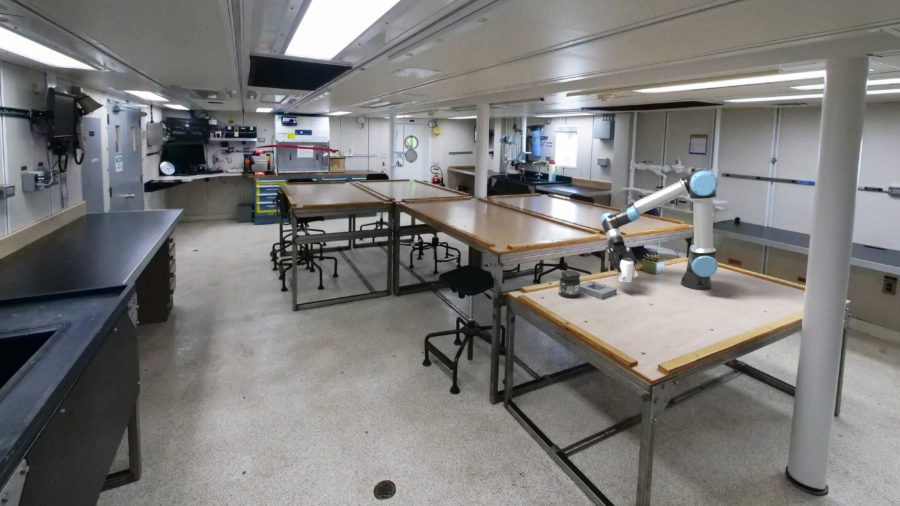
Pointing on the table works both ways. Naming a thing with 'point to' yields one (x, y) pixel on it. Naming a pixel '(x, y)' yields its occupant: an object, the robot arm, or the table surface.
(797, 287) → the table surface
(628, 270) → the can
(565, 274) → the supplement container
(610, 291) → the socket plate
